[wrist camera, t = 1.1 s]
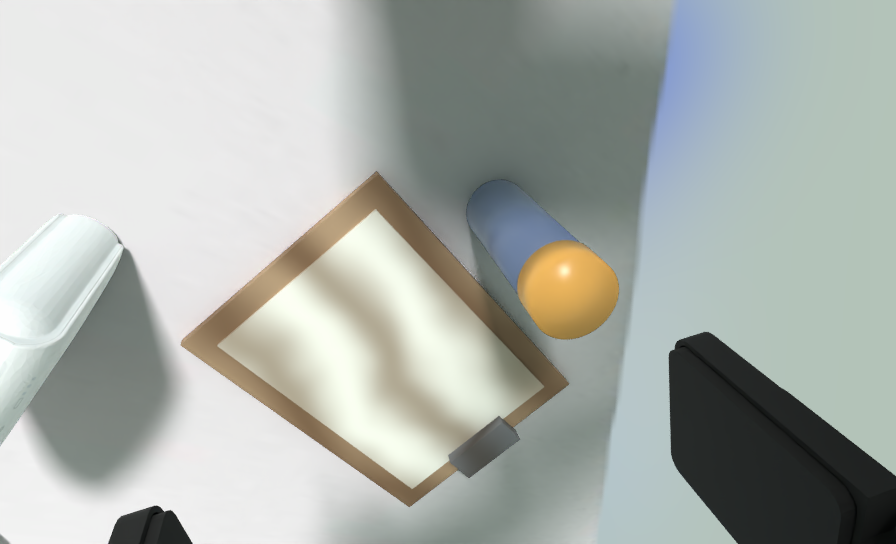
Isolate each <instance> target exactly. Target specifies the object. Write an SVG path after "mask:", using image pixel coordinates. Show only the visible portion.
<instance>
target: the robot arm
mask: <svg viewBox="0 0 896 544" xmlns="http://www.w3.org/2000/svg"><path fill="white" fill-rule="evenodd" d="M669 383H670V385H669V386H670V427H671V455H672V459H673V462H674V464H675V466H676V468H677V470H678V471H679V473H680V474H681V475H682V476H683V477H684V479H685V480H686V481H687V482H688V484H689V485H690V486H691V487H692V488H693V490H694V491H695V492H696V493H697V495H698V496H699V497H700V498H701V499H702V501H703V502H704V503H705V504H706V506H707V507H708V508H709V509H710V510H711V512H712V513H713V514H714V515H715V516H716V518H717V519H718V520H719V521H720V523H721V524H722V525H723V526H724V527H725V529H726V530H727V531H728V532H729V534H730V535H731V536H732V537H733V538H734V540H735V541H736V542H737V543H738V544H896V476H895V475H893V474H892V473H891V472H889V471H888V470H887V469H886V468H885V467H883V466H882V465H881V464H880V463H878V462H877V461H876V460H874V459H873V458H872V457H871V456H869V455H868V454H867V453H865V452H864V451H863V450H861V449H860V448H859V447H858V446H856V445H855V444H854V443H852V442H851V441H850V440H848V439H847V438H846V437H845V436H844V435H842V434H841V433H839V432H838V431H837V430H836V429H834V428H833V427H832V426H831V425H829V424H828V423H827V422H826V421H824V420H823V419H822V418H821V417H819V416H818V415H817V414H815V413H814V412H813V411H812V410H810V409H809V408H807V407H806V406H805V405H804V404H803V403H801V402H800V401H799V400H797V399H796V398H795V397H794V396H792V395H791V394H790V393H788V392H787V391H785V390H784V389H782V388H780V387H779V386H778V385H777V384H775V383H774V382H773V381H771V380H770V379H769V378H768V377H766V376H765V375H764V374H762V373H761V372H760V371H759V370H757V369H756V368H755V367H754V366H752V365H751V364H750V363H748V362H747V361H746V360H745V359H743V358H742V357H741V356H739V355H738V354H737V353H736V352H734V351H733V350H732V349H731V348H729V347H728V346H727V345H726V344H724V343H723V342H722V341H720V340H719V339H718V338H717V337H715V336H714V335H713V334H711V333H709V332H703V333H700V334H697V335H693V336H690V337H687V338H684V339H681V340H679V341H677V343H676V345H675V350H672V351H670V353H669ZM108 544H193V543H192V542H191V540H190V538H189V537H188V535H187V533H186V532H185V530H184V528H183V527H182V525H181V523H180V522H179V520H178V518H177V516H176V515H175V514H174V512H173V511H171V510H169V511H165V512H164V511H163V510H162V509H161V507H159V506H152V507H149V508H146V509H143V510H140V511H136V512H133V513H130V514H127V515H124V516H121V517H120V518H119V519H118V520H117V522H116V524H115V526H114V529H113V532H112V535H111V537H110V540H109V543H108Z"/></svg>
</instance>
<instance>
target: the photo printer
mask: <svg viewBox="0 0 896 544" xmlns="http://www.w3.org/2000/svg"><path fill="white" fill-rule="evenodd" d="M123 248H124V246H123V245H121V244H119V243H118V238H117V237H116V235H115V234H114V233H113V232H112V230H111V229H109V228H108V227H107V226H106V225H105V224H103V223H101V222H100V221H98V220H96V219H94V218H91V217H88V216H84V215H69V216H66V215H64V214H62V213H59V214H57V215H55V216H54V217H53V218H51V219H50V220H49V221H48V222H47V223H45V224H44V225H43V226H42V227H41V228H40V229H39V230H38V231H37V232H36V233H35V234H34V235H32V236H31V237H30V238H29V239H28V240H27V241H26V242H25V243H24V244H23V245H22V246H21V247H20V248H19V249H17V250H16V251H15V252H14V253H13V254H12V255H11V256H10V257H9V258H8V259H7V260H6V261H5V262H4V263H2V264H1V265H0V446H1V444H2V443H3V441H4V440H5V439H6V437H7V436H8V434H9V433H10V432H11V430H12V429H13V427H14V426H15V424H16V423H17V421H18V420H19V418H20V417H21V415H22V414H23V412H24V411H25V409H26V408H27V406H28V405H29V403H30V402H31V400H32V399H33V397H34V396H35V395H36V393H37V392H38V390H39V389H40V387H41V386H42V384H43V383H44V381H45V380H46V378H47V377H48V375H49V374H50V373H51V371H52V370H53V368H54V367H55V365H56V364H57V362H58V361H59V359H60V358H61V356H62V355H63V354H64V352H65V351H66V349H67V348H68V346H69V345H70V343H71V342H72V340H73V339H74V337H75V336H76V334H77V332H78V331H79V329H80V328H81V326H82V325H83V323H84V322H85V320H86V318H87V317H88V315H89V313H90V312H91V310H92V309H93V307H94V305H95V304H96V302H97V300H98V299H99V297H100V295H101V294H102V292H103V290H104V289H105V287H106V285H107V284H108V282H109V280H110V279H111V277H112V275H113V273H114V272H115V270H116V267H117V265H118V263H119V261H120V258H121V255H122V252H123Z"/></svg>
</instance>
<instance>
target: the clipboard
mask: <svg viewBox="0 0 896 544" xmlns="http://www.w3.org/2000/svg"><path fill="white" fill-rule="evenodd" d="M181 346H182V347H184V348H185V349H187V350H188V351H189V352H191V353H192V354H194V355H195V356H196V357H198V358H199V359H201V360H202V361H204V362H205V363H206V364H208V365H209V366H211V367H212V368H213V369H215V370H216V371H218V372H219V373H220V374H222V375H223V376H225V377H226V378H228V379H229V380H230V381H232V382H233V383H235V384H236V385H237V386H239V387H240V388H242V389H243V390H244V391H246V392H247V393H249V394H250V395H252V396H253V397H254V398H256V399H257V400H259V401H260V402H261V403H263V404H264V405H266V406H267V407H269V408H270V409H271V410H273V411H274V412H276V413H277V414H278V415H280V416H281V417H283V418H284V419H285V420H287V421H288V422H290V423H291V424H293V425H294V426H295V427H297V428H298V429H300V430H301V431H302V432H304V433H305V434H307V435H308V436H310V437H311V438H312V439H314V440H315V441H317V442H318V443H319V444H321V445H322V446H324V447H325V448H326V449H328V450H329V451H331V452H332V453H334V454H335V455H336V456H338V457H339V458H341V459H342V460H343V461H345V462H346V463H348V464H349V465H351V466H352V467H353V468H355V469H356V470H358V471H359V472H360V473H362V474H363V475H365V476H366V477H367V478H369V479H370V480H372V481H373V482H375V483H376V484H377V485H379V486H380V487H382V488H383V489H384V490H386V491H387V492H389V493H390V494H391V495H393V496H394V497H396V498H397V499H399V500H400V501H401V502H403V503H404V504H406V505H407V506H408V507H410V506H412V505H413V504H414V503H415V502H417V501H418V500H419V499H421V498H422V497H423V496H425V495H426V494H427V493H428V492H430V491H431V490H432V489H434V488H435V487H436V486H438V485H439V484H440V483H441V482H443V481H444V480H445V479H447V478H448V477H449V476H451V475H452V474H453V473H454V472H456V471H457V470H458V469H459V470H460V471H461V472H462V473H463V474H465V475H466V476H467V477H468V478H470V477H471V476H472V475H474V474H475V473H476V472H478V471H479V470H480V469H482V468H483V467H484V466H486V465H487V464H488V463H489V462H491V461H492V460H493V459H495V458H496V457H497V456H499V455H500V454H501V453H503V452H504V451H505V450H506V449H508V448H509V447H510V446H512V445H513V444H514V443H516V442H517V441H518V440H520V438H519V436H518V434H517V432H516V430H515V429H514V428H513V427H514V426H516V425H517V424H518V423H519V422H521V421H522V420H523V419H525V418H526V417H527V416H529V415H530V414H531V413H532V412H534V411H535V410H536V409H538V408H539V407H540V406H542V405H543V404H544V403H546V402H547V401H548V400H549V399H551V398H552V397H553V396H555V395H556V394H557V393H559V392H560V391H561V390H562V389H564V388H565V387H566V386H568V385H569V383H568V382H567V380H566V379H565V378H564V377H563V376H562V374H561V373H560V372H559V371H558V370H557V369H556V368H555V367H554V366H553V365H552V363H551V362H550V361H549V360H548V359H547V358H546V357H545V356H544V355H543V354H542V352H541V351H540V350H539V349H538V348H537V347H536V346H535V345H534V344H533V343H532V341H531V340H530V339H529V338H528V337H527V336H526V335H525V334H524V333H523V332H522V330H521V329H520V328H519V327H518V326H517V325H516V324H515V323H514V322H513V321H512V319H511V318H510V317H509V316H508V315H507V314H506V313H505V312H504V311H503V310H502V308H501V307H500V306H499V305H498V304H497V303H496V302H495V301H494V300H493V299H492V297H491V296H490V295H489V294H488V293H487V292H486V291H485V290H484V289H483V288H482V286H481V285H480V284H479V283H478V282H477V281H476V280H475V279H474V278H473V277H472V275H471V274H470V273H469V272H468V271H467V270H466V269H465V268H464V267H463V266H462V264H461V263H460V262H459V261H458V260H457V259H456V258H455V257H454V256H453V255H452V253H451V252H450V251H449V250H448V249H447V248H446V247H445V246H444V245H443V244H442V242H441V241H440V240H439V239H438V238H437V237H436V236H435V235H434V234H433V233H432V231H431V230H430V229H429V228H428V227H427V226H426V225H425V224H424V223H423V222H422V220H421V219H420V218H419V217H418V216H417V215H416V214H415V213H414V212H413V211H412V209H411V208H410V207H409V206H408V205H407V204H406V203H405V202H404V201H403V200H402V198H401V197H400V196H399V195H398V194H397V193H396V192H395V191H394V190H393V189H392V187H391V186H390V185H389V184H388V183H387V182H386V181H385V180H384V179H383V178H382V176H381V175H380V174H379V173H378V172H375V173H374V174H373V175H372V176H371V177H370V178H368V179H367V180H366V181H365V182H364V183H363V184H362V185H360V186H359V187H358V188H357V189H356V190H355V191H353V192H352V193H351V194H350V195H349V196H348V197H347V198H345V199H344V200H343V201H342V202H341V203H340V204H338V205H337V206H336V207H335V208H334V209H333V210H332V211H330V212H329V213H328V214H327V215H326V216H325V217H323V218H322V219H321V220H320V221H319V222H318V223H317V224H315V225H314V226H313V227H312V228H311V229H310V230H308V231H307V232H306V233H305V234H304V235H303V236H302V237H300V238H299V239H298V240H297V241H296V242H295V243H293V244H292V245H291V246H290V247H289V248H288V249H287V250H285V251H284V252H283V253H282V254H281V255H280V256H278V257H277V258H276V259H275V260H274V261H273V262H272V263H270V264H269V265H268V266H267V267H266V268H265V269H263V270H262V271H261V272H260V273H259V274H258V275H257V276H255V277H254V278H253V279H252V280H251V281H250V282H248V283H247V284H246V285H245V286H244V287H243V288H242V289H240V290H239V291H238V292H237V293H236V294H235V295H234V296H232V297H231V298H230V299H229V300H228V301H227V302H225V303H224V304H223V305H222V306H221V307H220V308H219V309H217V310H216V311H215V312H214V313H213V314H212V315H210V316H209V317H208V318H207V319H206V320H205V321H204V322H202V323H201V324H200V325H199V326H198V327H197V328H195V329H194V330H193V331H192V332H191V333H190V334H189V335H187V336H186V337H185V338H184V339H183V340H182V342H181Z"/></svg>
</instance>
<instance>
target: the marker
mask: <svg viewBox="0 0 896 544" xmlns="http://www.w3.org/2000/svg"><path fill="white" fill-rule="evenodd" d="M466 215H467V221H468V224H469V226H470V228H471V229H472V230H473V232H474V233H475V235H476V236H477V237H478V239H479V240H480V242H481V243H482V245H483V246H484V247H485V249H486V250H487V252H488V253H489V254H490V256H491V257H492V259H493V260H494V261H495V263H496V264H497V266H498V267H499V269H500V270H501V271H502V273H503V274H504V276H505V277H506V278H507V280H508V281H509V283H510V284H511V286H512V287H513V288H514V290H515V291H516V293H517V294H518V296H519V299H520V301H521V303H522V305H523V306H524V308H525V309H526V310H527V312H528V313H529V315H530V316H531V318H532V319H533V320H534V322H535V323H536V325H537V326H538V327H539V329H540V330H541V331H542V332H544V333H545V334H546V335H548V336H550V337H553V338H557V339H575V338H579V337H582V336H585V335H587V334H589V333H591V332H592V331H594V330H595V329H597V328H598V327H599V326H601V325H602V324H603V323H604V322H605V321H606V320H607V318H608V317H609V316H610V314H611V313H612V311H613V309H614V307H615V305H616V302H617V299H618V294H619V284H618V280H617V277H616V275H615V273H614V271H613V270H612V269H611V268H610V266H608V265H607V264H606V263H605V262H604V261H603V260H602V259H601V258H600V257H598V256H597V255H596V254H595V253H594V252H593V251H592V250H591V249H590V248H588V247H587V246H586V245H584V244H582V243H580V242H579V241H578V240H577V239H575V238H574V237H573V236H572V235H571V234H570V233H569V232H568V231H567V230H566V229H564V228H563V227H562V226H561V225H560V224H559V223H558V222H557V221H556V220H555V219H553V218H552V217H551V216H550V215H549V214H548V213H547V212H546V211H545V210H544V209H543V208H541V207H540V206H539V205H538V204H537V203H536V202H535V201H534V200H533V199H532V198H530V197H529V196H528V195H527V194H526V193H525V192H524V191H523V190H522V189H521V188H519V187H518V186H517V185H516V184H514V183H512V182H510V181H507V180H493V181H490V182H487V183H485V184H483V185H482V186H480V187H479V188H478V189H477V190H476V191H475V192H474V193H473V195H472V196H471V198H470V200H469V202H468V205H467V211H466Z"/></svg>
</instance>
